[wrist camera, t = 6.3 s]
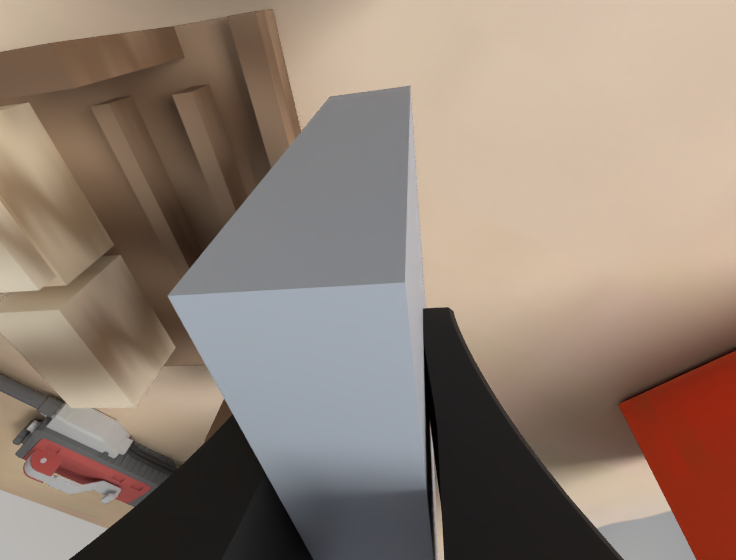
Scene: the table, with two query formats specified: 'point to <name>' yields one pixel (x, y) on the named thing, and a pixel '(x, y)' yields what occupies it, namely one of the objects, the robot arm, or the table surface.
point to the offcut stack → (68, 279)
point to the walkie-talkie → (85, 450)
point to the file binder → (694, 452)
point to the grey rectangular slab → (329, 331)
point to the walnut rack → (163, 138)
